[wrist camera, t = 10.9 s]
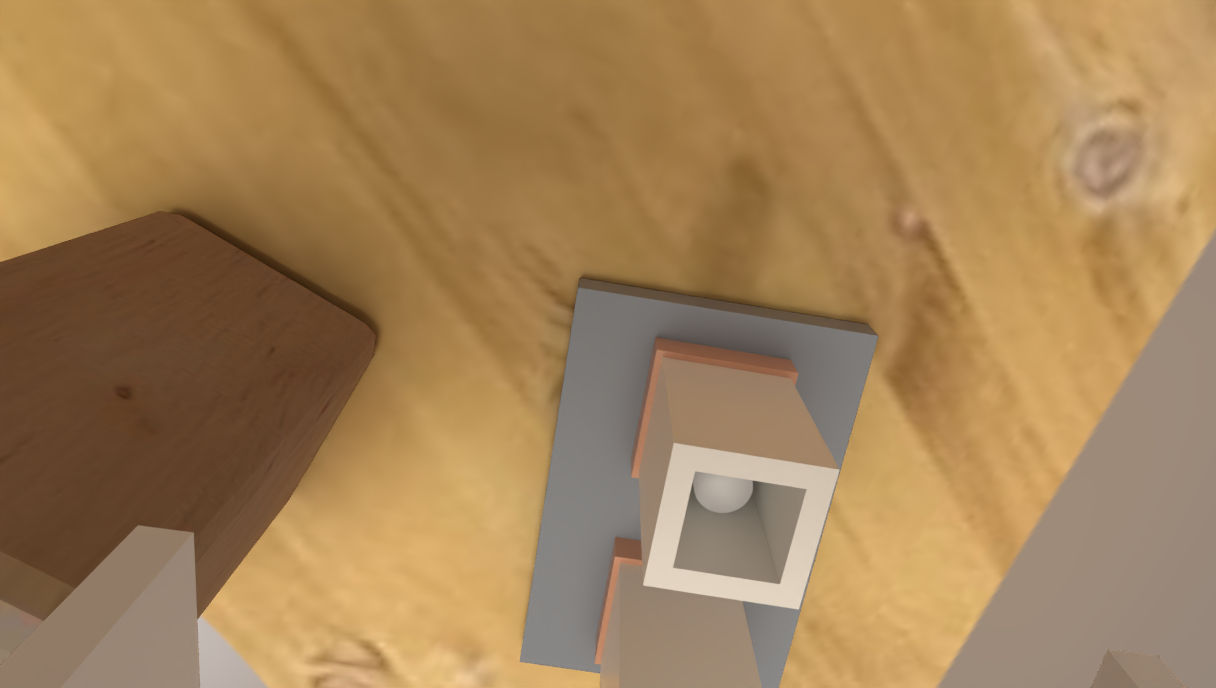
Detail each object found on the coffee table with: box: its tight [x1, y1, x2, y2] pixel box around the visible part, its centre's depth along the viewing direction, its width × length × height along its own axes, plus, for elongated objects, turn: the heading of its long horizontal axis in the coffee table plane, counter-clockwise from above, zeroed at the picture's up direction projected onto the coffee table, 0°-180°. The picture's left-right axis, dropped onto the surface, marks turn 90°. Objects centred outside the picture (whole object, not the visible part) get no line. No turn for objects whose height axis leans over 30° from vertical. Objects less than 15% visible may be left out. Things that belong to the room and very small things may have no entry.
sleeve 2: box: [594, 537, 762, 688], centre depth 32 cm, size 6×6×9 cm
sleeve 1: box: [631, 337, 840, 610], centre depth 29 cm, size 6×6×9 cm
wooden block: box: [0, 211, 376, 665], centre depth 25 cm, size 10×10×20 cm
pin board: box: [520, 278, 878, 688], centre depth 33 cm, size 18×12×8 cm, turn 171°
